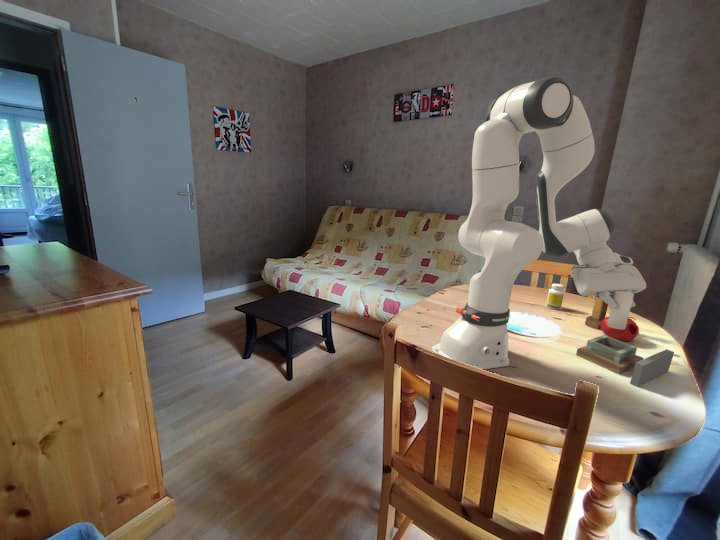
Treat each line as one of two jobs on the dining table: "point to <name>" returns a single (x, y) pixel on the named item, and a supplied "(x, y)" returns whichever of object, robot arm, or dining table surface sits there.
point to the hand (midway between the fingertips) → (623, 307)
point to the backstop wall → (651, 367)
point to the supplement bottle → (555, 297)
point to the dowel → (620, 310)
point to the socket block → (610, 354)
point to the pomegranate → (619, 334)
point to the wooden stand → (597, 314)
